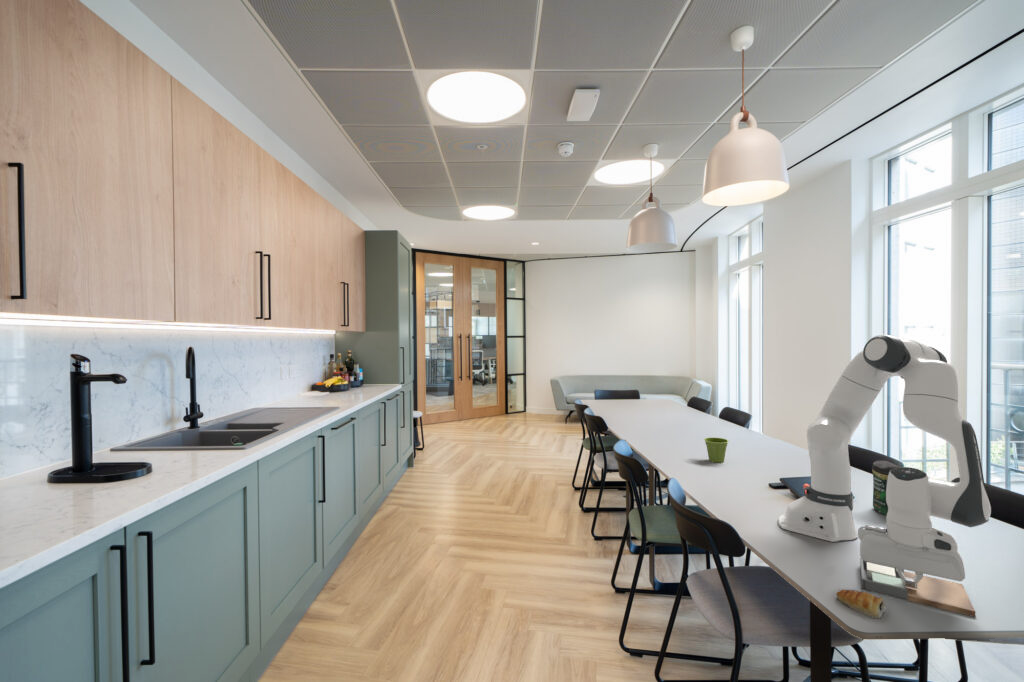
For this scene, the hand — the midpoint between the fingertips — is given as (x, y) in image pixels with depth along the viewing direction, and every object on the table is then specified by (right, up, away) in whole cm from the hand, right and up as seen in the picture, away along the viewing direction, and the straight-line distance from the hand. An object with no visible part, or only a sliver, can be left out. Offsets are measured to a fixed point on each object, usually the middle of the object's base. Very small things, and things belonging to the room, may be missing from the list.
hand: (909, 586), depth 116 cm
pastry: (-16, -3, -5) cm, 17 cm away
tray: (-3, -2, +5) cm, 6 cm away
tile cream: (-1, -2, +8) cm, 8 cm away
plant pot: (+6, -1, +122) cm, 122 cm away
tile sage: (-4, -2, +2) cm, 5 cm away
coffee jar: (+37, -1, +51) cm, 63 cm away
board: (+6, -2, -1) cm, 6 cm away
